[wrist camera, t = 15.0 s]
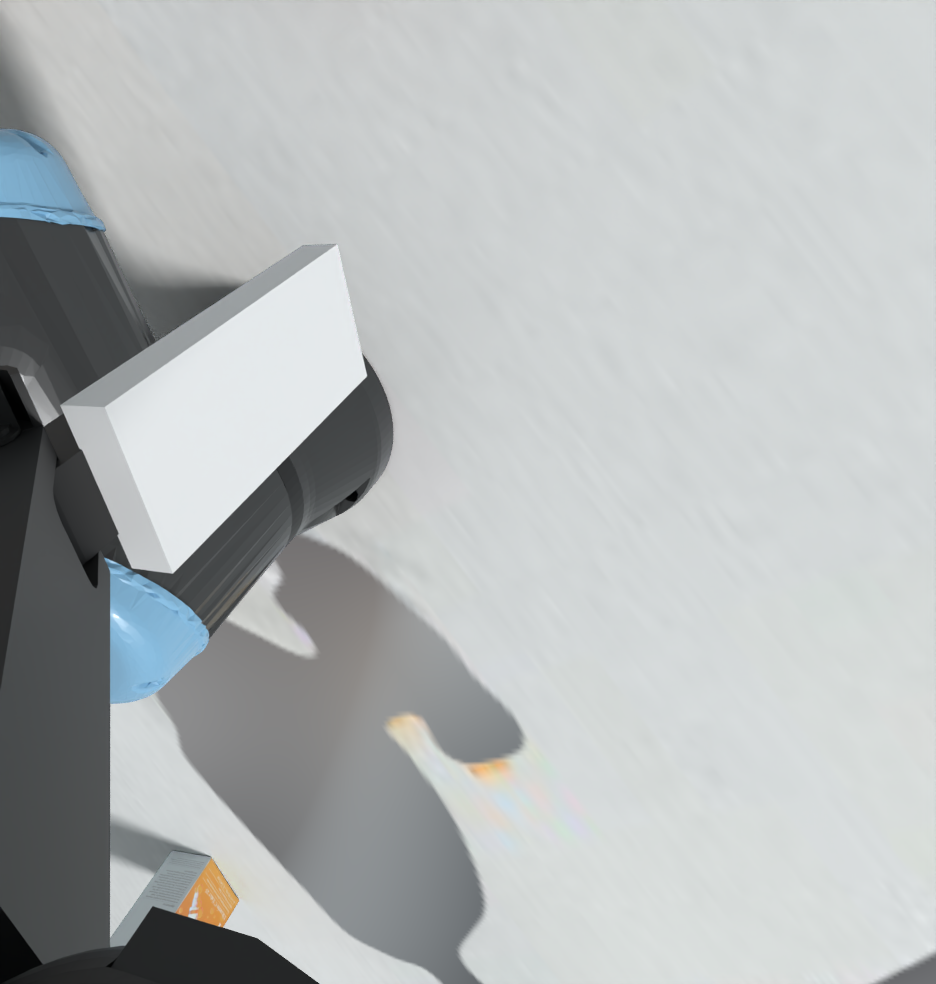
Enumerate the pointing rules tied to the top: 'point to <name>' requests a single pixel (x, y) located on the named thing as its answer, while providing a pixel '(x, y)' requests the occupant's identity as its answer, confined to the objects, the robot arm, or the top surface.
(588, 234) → the top surface
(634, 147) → the top surface
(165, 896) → the small box
